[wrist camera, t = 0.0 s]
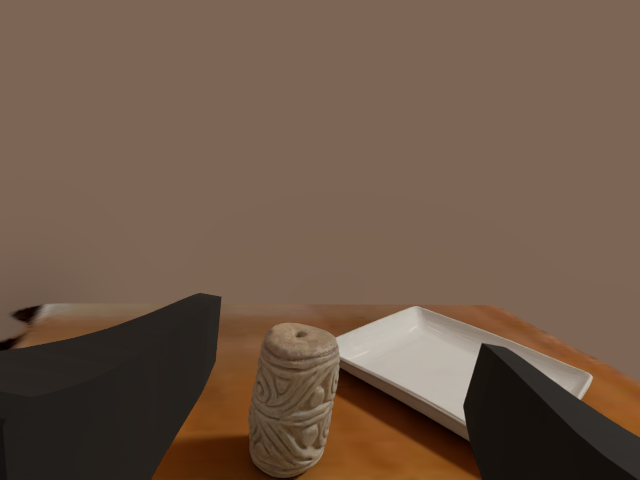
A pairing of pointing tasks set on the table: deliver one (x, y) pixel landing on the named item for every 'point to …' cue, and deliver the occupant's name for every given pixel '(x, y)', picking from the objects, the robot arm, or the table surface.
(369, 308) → the table surface
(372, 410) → the table surface
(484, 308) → the table surface
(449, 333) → the square plate
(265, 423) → the carving
